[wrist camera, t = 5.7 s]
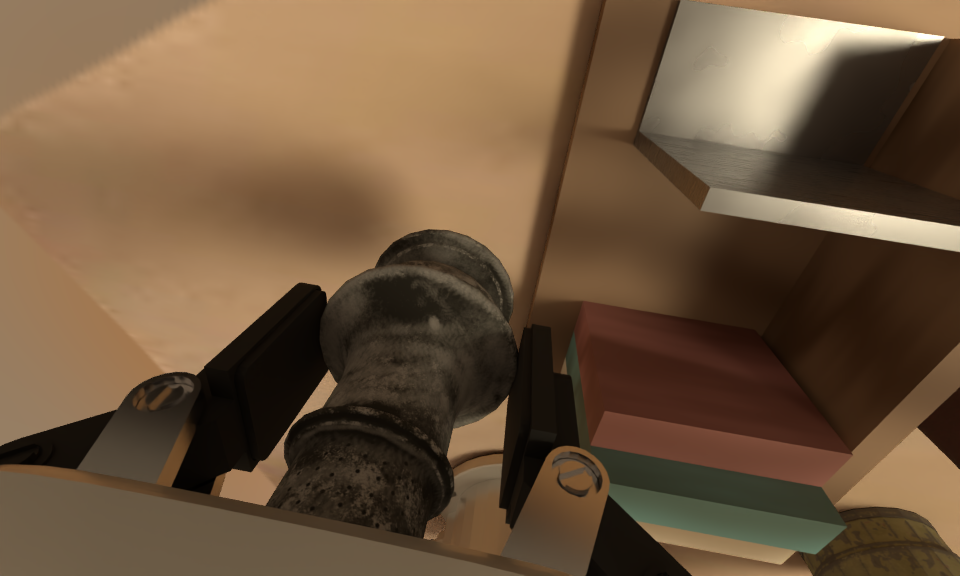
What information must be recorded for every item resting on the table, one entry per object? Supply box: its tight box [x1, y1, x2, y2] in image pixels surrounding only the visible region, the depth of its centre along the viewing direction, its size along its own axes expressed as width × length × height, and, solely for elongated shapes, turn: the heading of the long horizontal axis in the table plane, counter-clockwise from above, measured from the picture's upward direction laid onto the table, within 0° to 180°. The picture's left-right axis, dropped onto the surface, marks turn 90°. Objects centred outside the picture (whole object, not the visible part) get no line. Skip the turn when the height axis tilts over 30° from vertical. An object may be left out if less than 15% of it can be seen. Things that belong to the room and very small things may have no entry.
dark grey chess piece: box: [266, 229, 518, 539], centre depth 9 cm, size 6×6×12 cm
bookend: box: [633, 0, 960, 252], centre depth 12 cm, size 5×9×8 cm, turn 83°
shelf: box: [526, 0, 960, 565], centre depth 16 cm, size 20×13×10 cm, turn 173°
